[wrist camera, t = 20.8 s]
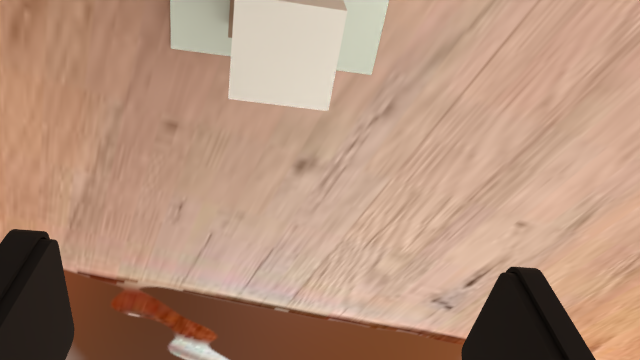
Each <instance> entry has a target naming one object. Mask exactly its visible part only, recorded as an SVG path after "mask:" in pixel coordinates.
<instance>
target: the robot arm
mask: <svg viewBox="0 0 640 360" xmlns="http://www.w3.org/2000/svg"><path fill="white" fill-rule="evenodd" d="M73 337H74V323H73V318H72V313H71V308H70V302H69V297H68V292H67V287H66V282H65V276H64V271H63V266H62V261H61V255H60V250H59V245H58V242H57V241H56V240H52V239H50V238H49V235H48V234H47V232H44V231H31V230H18V229H13V230H11V231H10V232H9V233H8V234H7V235H6V236H5V238H4V239H3V241H2V242H1V243H0V360H65V359H66V357H67V354H68V352H69V350H70V347H71V344H72V341H73ZM462 360H595V358H594V356H593V355H592V353H591V351H590V350H589V348H588V347H587V345H586V343H585V342H584V340H583V338H582V337H581V335H580V334H579V332H578V330H577V329H576V327H575V325H574V324H573V322H572V321H571V319H570V317H569V316H568V314H567V312H566V311H565V309H564V308H563V306H562V304H561V303H560V301H559V299H558V298H557V296H556V295H555V293H554V291H553V290H552V288H551V286H550V285H549V283H548V282H547V280H546V278H545V277H544V275H543V274H542V272H541V271H540V270H538V269H536V268H523V267H510V268H509V269H508V270H507V271H506V273H502V274H500V276H499V277H498V279H497V281H496V283H495V285H494V287H493V289H492V291H491V293H490V295H489V297H488V299H487V300H486V302H485V304H484V306H483V308H482V310H481V312H480V314H479V316H478V318H477V320H476V322H475V323H474V325H473V327H472V329H471V331H470V333H469V335H468V337H467V339H466V341H465V343H464V345H463V347H462Z"/></svg>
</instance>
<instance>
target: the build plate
mask: <svg viewBox="0 0 640 360" xmlns="http://www.w3.org/2000/svg"><path fill="white" fill-rule="evenodd" d="M343 1H344V4H345V6H346V9H347V16H346V21H345V27H344V32H343V37H342V42H341V47H340V53H339V58H338V63H337V68H336V70H337V71H345V72H353V73H360V74H368V75H372V71H373V67H374V62H375V58H376V54H377V50H378V45H379V41H380V37H381V33H382V28H383V24H384V20H385V16H386V11H387V7H388V3H389V0H343ZM229 10H230V0H170V19H171V49H178V50H186V51H193V52H201V53H208V54H216V55H224V56H231V47H232V38H229V37H228V28H229Z"/></svg>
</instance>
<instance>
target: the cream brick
mask: <svg viewBox="0 0 640 360" xmlns="http://www.w3.org/2000/svg"><path fill="white" fill-rule="evenodd" d="M346 16H347V9H346V6H345V4H344V1H343V0H234V15H233V31H232V47H231V63H230V79H229V95H228V99H232V100H240V101H249V102H257V103H265V104H274V105H282V106H290V107H298V108H307V109H315V110H323V111H328V110H329V105H330V99H331V94H332V89H333V84H334V79H335V73H336V68H337V63H338V58H339V53H340V47H341V42H342V37H343V32H344V27H345V21H346Z"/></svg>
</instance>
